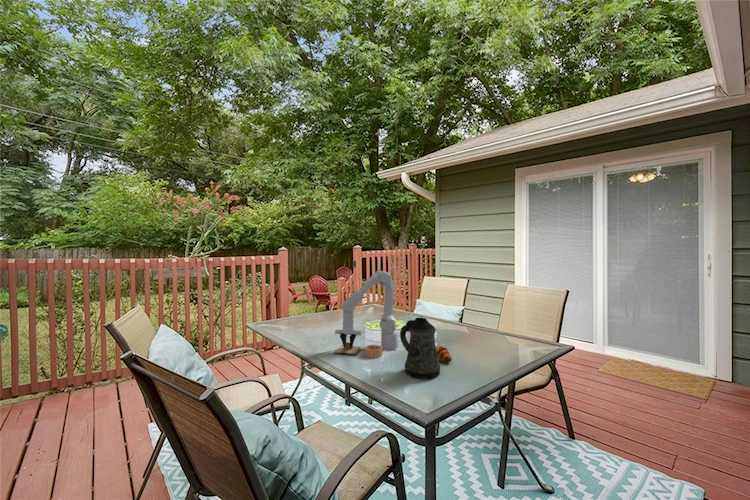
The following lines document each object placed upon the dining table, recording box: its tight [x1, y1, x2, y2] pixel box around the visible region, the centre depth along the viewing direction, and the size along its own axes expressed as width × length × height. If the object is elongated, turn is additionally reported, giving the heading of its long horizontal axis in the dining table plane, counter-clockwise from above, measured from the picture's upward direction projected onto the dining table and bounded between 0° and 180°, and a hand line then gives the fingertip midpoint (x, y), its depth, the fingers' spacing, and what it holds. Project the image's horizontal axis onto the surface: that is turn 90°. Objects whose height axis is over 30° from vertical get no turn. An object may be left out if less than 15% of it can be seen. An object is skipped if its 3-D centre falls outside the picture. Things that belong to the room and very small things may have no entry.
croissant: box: [435, 345, 453, 363], centre depth 179 cm, size 21×10×8 cm, turn 24°
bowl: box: [364, 344, 384, 359], centre depth 181 cm, size 9×9×4 cm
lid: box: [334, 341, 362, 354], centre depth 186 cm, size 11×11×4 cm
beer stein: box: [399, 317, 441, 380], centre depth 158 cm, size 16×19×25 cm
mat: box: [332, 348, 363, 358], centre depth 186 cm, size 13×13×1 cm
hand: (348, 347), depth 186 cm, fingers closed on lid, 3 cm apart
